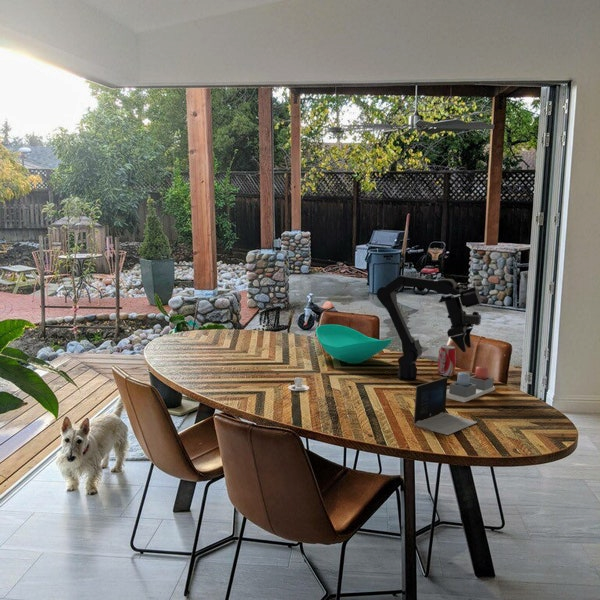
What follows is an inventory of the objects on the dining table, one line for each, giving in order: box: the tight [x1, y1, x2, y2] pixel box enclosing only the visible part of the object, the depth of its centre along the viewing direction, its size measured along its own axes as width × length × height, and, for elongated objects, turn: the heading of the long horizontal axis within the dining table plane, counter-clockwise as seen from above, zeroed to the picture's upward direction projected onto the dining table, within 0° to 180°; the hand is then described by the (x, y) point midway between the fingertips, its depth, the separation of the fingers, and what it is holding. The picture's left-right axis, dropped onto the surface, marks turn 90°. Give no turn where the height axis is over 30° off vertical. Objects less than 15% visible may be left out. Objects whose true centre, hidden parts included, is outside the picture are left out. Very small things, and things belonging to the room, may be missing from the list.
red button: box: [474, 365, 489, 380], centre depth 246 cm, size 4×4×5 cm
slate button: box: [456, 371, 471, 387], centre depth 235 cm, size 4×4×5 cm
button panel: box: [446, 374, 496, 403], centre depth 242 cm, size 10×24×5 cm, turn 138°
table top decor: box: [315, 323, 393, 364], centre depth 284 cm, size 40×28×13 cm
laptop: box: [413, 376, 478, 436], centre depth 205 cm, size 18×12×13 cm
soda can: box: [437, 344, 457, 377], centre depth 267 cm, size 7×7×12 cm
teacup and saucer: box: [287, 376, 310, 392], centre depth 240 cm, size 9×8×4 cm
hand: (467, 349), depth 248 cm, fingers open, 9 cm apart
